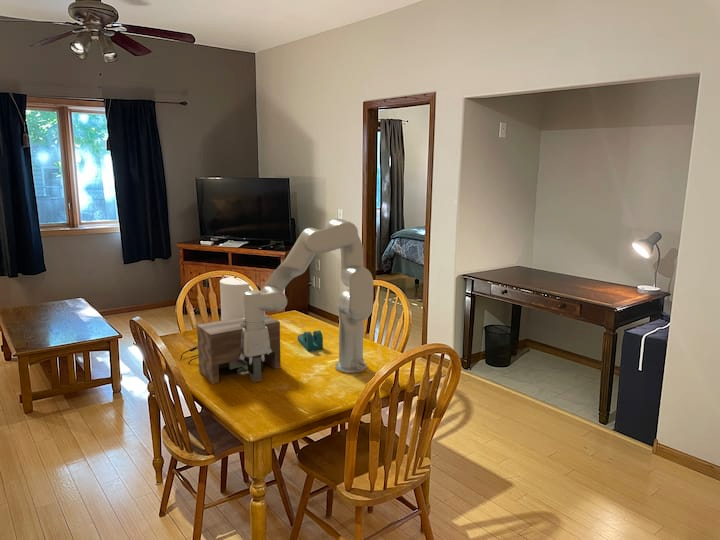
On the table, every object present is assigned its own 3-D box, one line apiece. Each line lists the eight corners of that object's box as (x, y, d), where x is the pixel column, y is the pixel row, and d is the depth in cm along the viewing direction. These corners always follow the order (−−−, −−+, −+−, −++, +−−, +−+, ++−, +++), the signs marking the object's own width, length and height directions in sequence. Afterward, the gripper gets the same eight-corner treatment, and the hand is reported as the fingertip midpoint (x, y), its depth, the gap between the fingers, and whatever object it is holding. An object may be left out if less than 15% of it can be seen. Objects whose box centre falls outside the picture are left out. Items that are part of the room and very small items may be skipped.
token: (252, 373, 210) (252, 370, 209) (240, 376, 207) (240, 373, 206) (246, 369, 214) (246, 366, 213) (235, 372, 211) (234, 369, 210)
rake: (267, 378, 202) (267, 355, 200) (247, 383, 198) (247, 360, 196) (247, 364, 216) (247, 342, 214) (228, 368, 211) (228, 346, 209)
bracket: (322, 350, 235) (322, 333, 234) (308, 352, 233) (307, 334, 231) (309, 337, 251) (309, 321, 250) (295, 339, 249) (295, 323, 247)
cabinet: (280, 367, 215) (279, 321, 211) (213, 383, 199) (210, 334, 195) (264, 356, 226) (263, 313, 222) (199, 371, 210) (196, 324, 206)
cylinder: (232, 349, 234) (230, 286, 229) (215, 338, 247) (213, 279, 242) (268, 341, 245) (266, 281, 239) (249, 331, 258) (248, 274, 252)
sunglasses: (217, 357, 225) (215, 347, 223) (191, 369, 216) (189, 358, 215) (203, 351, 232) (201, 341, 230) (178, 362, 223) (176, 351, 222)
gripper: (237, 331, 189) (239, 380, 193) (279, 323, 199) (280, 370, 202) (229, 325, 195) (230, 373, 199) (269, 318, 204) (270, 364, 208)
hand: (255, 371), depth 200 cm, fingers closed on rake, 3 cm apart
